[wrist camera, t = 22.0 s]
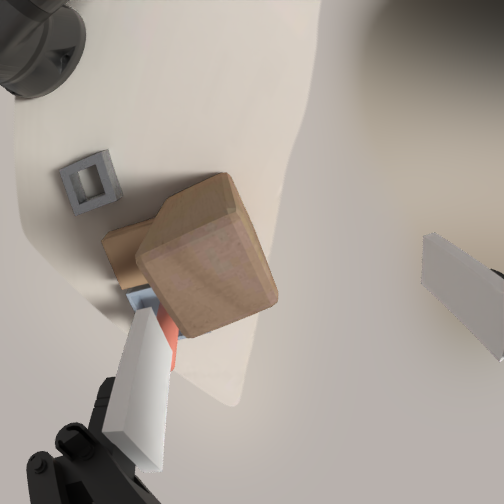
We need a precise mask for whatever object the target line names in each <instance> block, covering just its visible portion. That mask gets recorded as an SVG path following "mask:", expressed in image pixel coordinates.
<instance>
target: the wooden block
mask: <svg viewBox="0 0 504 504" xmlns="http://www.w3.org/2000/svg"><path fill="white" fill-rule="evenodd" d="M135 258H136V264H137V266H138V268H139V269H140V271H141V272H142V274H143V276H144V277H145V279H146V280H147V282H148V284H149V285H150V287H151V288H152V290H153V291H154V293H155V294H156V296H157V298H158V299H159V301H160V302H161V304H162V305H163V307H164V308H165V310H166V311H167V313H168V314H169V316H170V317H171V318H172V320H173V321H174V323H175V324H176V326H177V327H178V329H179V330H180V332H181V333H182V334H183V336H185V337H186V338H195V337H197V336H200V335H202V334H205V333H208V332H210V331H213V330H215V329H218V328H220V327H223V326H225V325H228V324H231V323H233V322H236V321H238V320H240V319H243V318H245V317H248V316H250V315H253V314H255V313H258V312H260V311H262V310H265V309H267V308H269V307H272V306H273V305H274V304H275V303H277V301H278V290H277V287H276V285H275V282H274V279H273V277H272V274H271V271H270V269H269V266H268V263H267V261H266V258H265V255H264V253H263V250H262V248H261V245H260V242H259V240H258V237H257V234H256V232H255V229H254V227H253V224H252V222H251V220H250V218H249V215H248V213H247V211H246V209H245V207H244V204H243V202H242V200H241V198H240V195H239V193H238V191H237V189H236V187H235V184H234V182H233V180H232V178H231V176H230V175H229V174H228V173H219V174H217V175H215V176H213V177H211V178H208V179H206V180H204V181H202V182H200V183H198V184H196V185H193V186H191V187H189V188H187V189H185V190H183V191H181V192H179V193H177V194H175V195H173V196H171V197H169V198H167V200H166V201H165V202H164V204H163V205H162V207H161V209H160V210H159V212H158V214H157V216H156V218H155V219H154V221H153V223H152V225H151V226H150V228H149V230H148V232H147V234H146V236H145V237H144V239H143V241H142V243H141V245H140V247H139V249H138V251H137V252H136V254H135Z"/></svg>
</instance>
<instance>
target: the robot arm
mask: <svg viewBox="0 0 504 504" xmlns="http://www.w3.org/2000/svg"><path fill="white" fill-rule="evenodd" d="M68 1H69V0H0V85H1V86H3V87H4V88H5V89H6V90H7V91H9V92H10V93H11V94H13V95H15V96H18V97H25V98H36V97H40V96H44V95H46V94H48V93H50V92H52V91H54V90H55V89H57V88H58V87H59V86H60V85H61V84H63V83H64V82H65V81H66V80H67V78H68V77H69V76H70V75H71V74H72V72H73V71H74V69H75V68H76V66H77V64H78V63H79V60H80V58H81V56H82V53H83V50H84V47H85V41H86V29H85V24H84V21H83V19H82V18H81V16H80V15H79V14H78V13H77V12H76V11H75V10H73V9H72V8H70V7H69V6H67V5H64V4H65V3H67V2H68ZM421 284H422V285H423V286H424V287H425V288H427V290H429V291H430V292H431V293H432V294H433V295H434V296H435V297H436V298H437V299H438V300H439V301H440V302H441V303H442V304H443V305H444V306H445V307H446V308H447V309H448V310H450V311H451V312H452V313H453V314H454V315H455V316H456V317H457V318H458V319H459V320H460V321H461V322H462V323H463V324H464V325H465V326H466V327H467V328H468V329H469V330H470V331H471V332H472V334H474V335H475V337H476V338H477V339H478V340H479V341H480V342H481V343H482V344H483V345H484V346H485V347H486V348H487V349H488V350H489V351H490V352H491V353H492V354H493V356H494V357H495V358H496V359H497V360H498V361H499V362H500V361H502V360H503V359H504V274H502V273H500V272H498V271H496V270H493V269H489V268H487V267H486V266H485V265H483V264H482V263H480V262H479V261H477V260H476V259H474V258H473V257H472V256H470V255H469V254H467V253H466V252H464V251H463V250H461V249H460V248H458V247H457V246H455V245H454V244H452V243H451V242H449V241H448V240H446V239H444V238H443V237H441V236H440V235H438V234H437V233H435V232H434V233H431V234H428V235H424V236H423V259H422V277H421ZM172 353H173V352H172V350H171V348H170V346H169V344H168V341H167V339H166V337H165V335H164V333H163V331H162V329H161V327H160V325H159V323H158V320H157V318H156V316H155V314H154V312H153V309H152V307H148V308H144V309H140V310H136V312H135V315H134V318H133V321H132V324H131V328H130V331H129V334H128V337H127V340H126V344H125V347H124V350H123V353H122V357H121V360H120V364H119V367H118V371H117V374H116V377H110V378H106V380H105V381H104V382H103V384H102V385H101V386H100V388H99V391H98V394H97V400H96V401H95V405H94V407H95V408H93V412H92V415H91V419H90V422H89V426H88V429H87V428H86V427H85V426H84V425H83V424H80V423H77V422H76V423H70V424H68V425H66V426H64V427H63V428H62V429H61V430H60V431H59V432H58V434H57V436H56V440H55V445H56V449H57V450H58V451H59V452H61V453H62V454H63V456H60V457H57V458H53V457H52V456H51V455H50V454H49V453H48V452H45V451H40V452H37V453H35V454H33V455H32V456H31V457H30V459H29V461H28V463H27V469H26V471H27V479H28V488H29V495H30V502H31V504H161V503H160V502H159V501H158V500H157V499H156V498H155V496H154V495H153V494H152V493H151V492H150V491H149V490H148V488H146V486H145V485H144V484H143V483H142V482H141V480H140V479H139V478H138V477H137V476H136V475H135V465H136V466H137V467H138V468H139V469H140V470H141V471H143V472H162V471H163V451H164V438H165V424H166V411H167V401H168V390H169V380H170V371H171V362H172Z"/></svg>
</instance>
